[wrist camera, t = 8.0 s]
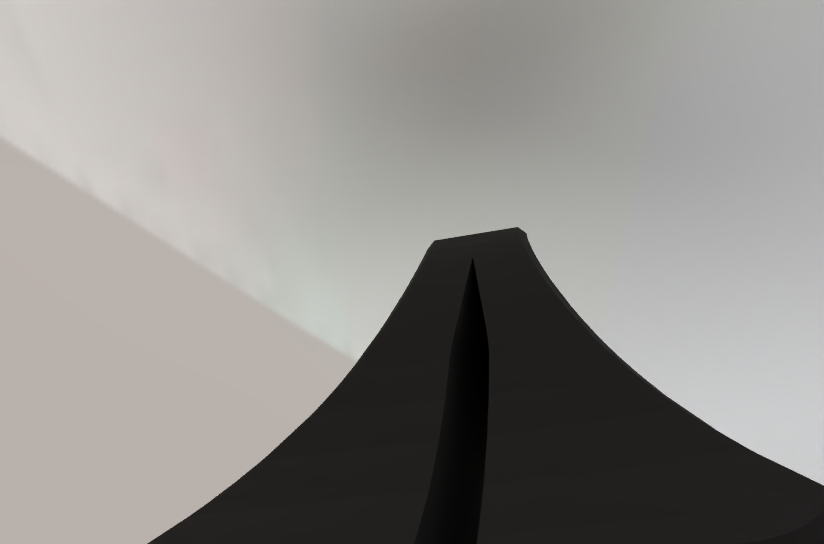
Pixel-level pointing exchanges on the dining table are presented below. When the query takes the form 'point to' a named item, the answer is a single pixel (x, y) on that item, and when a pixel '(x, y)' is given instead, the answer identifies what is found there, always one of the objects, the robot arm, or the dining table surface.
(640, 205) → the dining table surface
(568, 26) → the dining table surface
